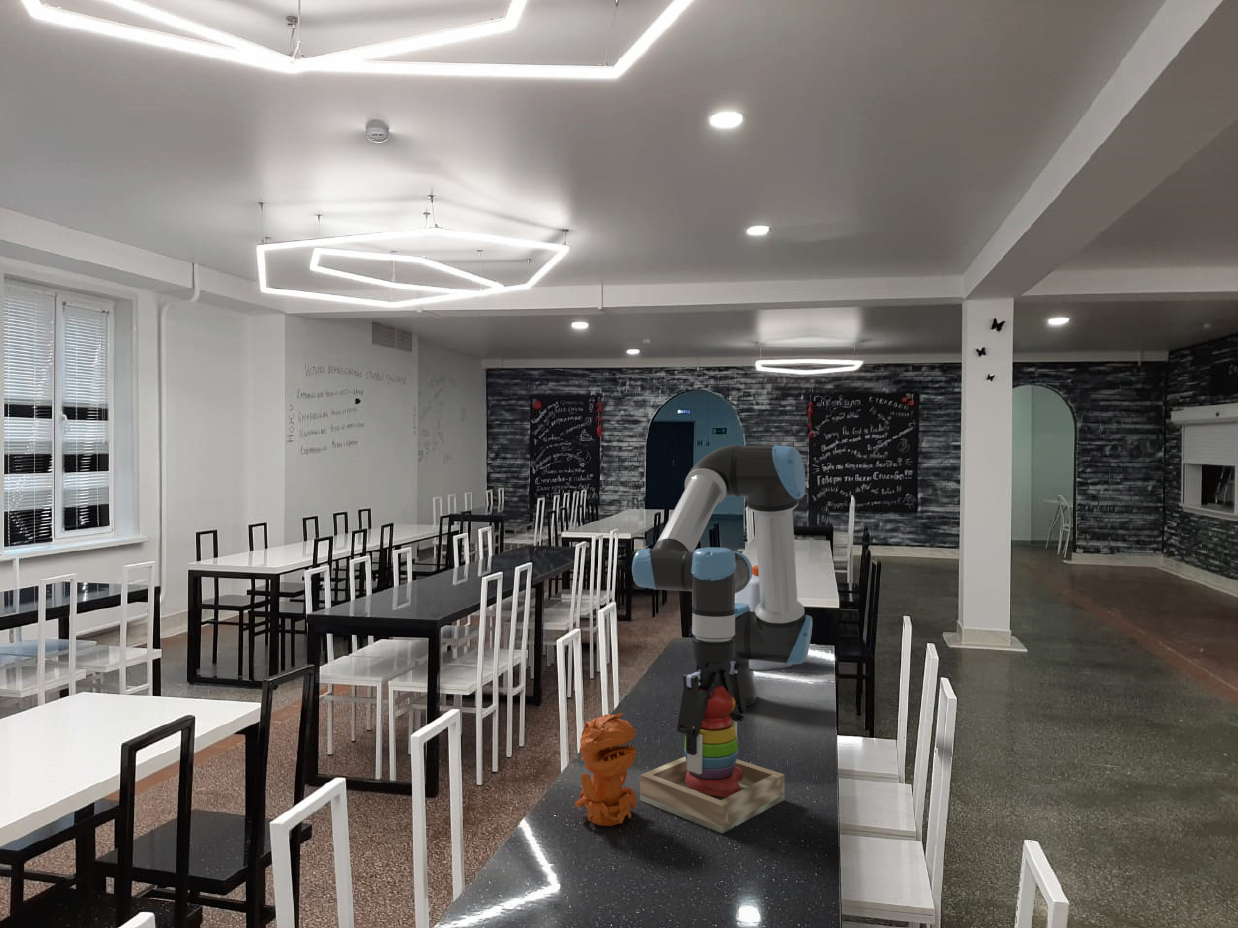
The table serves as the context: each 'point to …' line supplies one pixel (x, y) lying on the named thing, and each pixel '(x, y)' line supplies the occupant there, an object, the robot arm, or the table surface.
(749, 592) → the plastic bottle
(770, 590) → the robot arm
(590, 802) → the toy dinosaur
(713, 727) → the stacking bear
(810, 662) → the table surface
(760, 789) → the open wooden box
